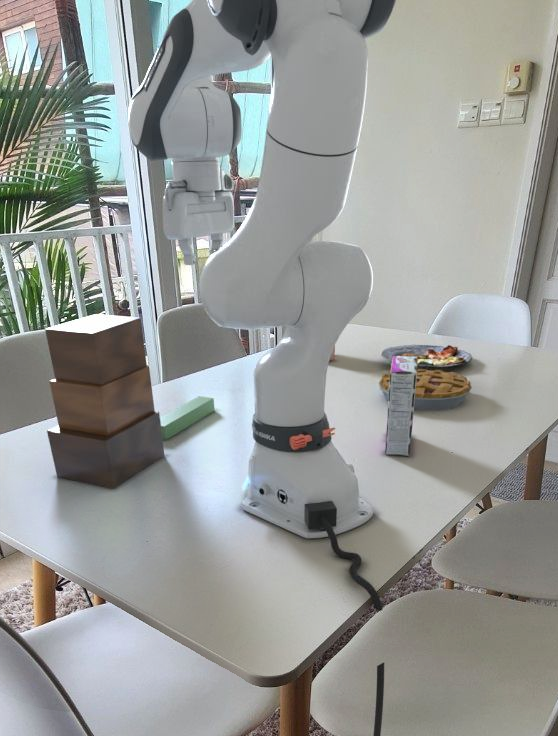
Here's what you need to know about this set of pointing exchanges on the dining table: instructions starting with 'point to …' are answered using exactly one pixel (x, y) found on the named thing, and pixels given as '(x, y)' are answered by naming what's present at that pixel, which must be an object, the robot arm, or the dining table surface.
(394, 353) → the food plate
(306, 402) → the robot arm
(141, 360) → the block stack
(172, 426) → the green bar
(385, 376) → the pie
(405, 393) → the candy bar box
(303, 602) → the dining table surface
